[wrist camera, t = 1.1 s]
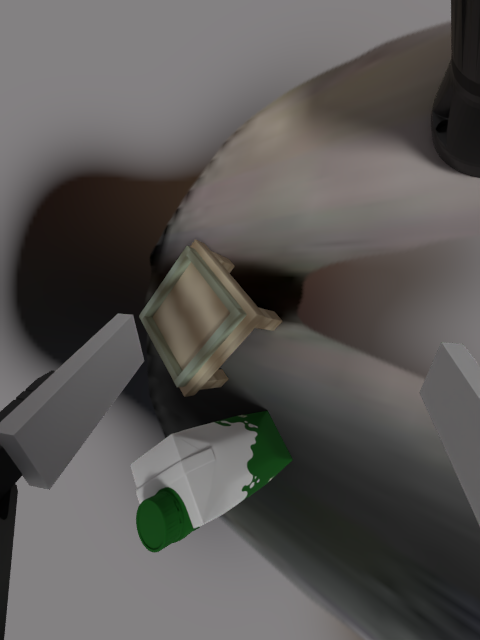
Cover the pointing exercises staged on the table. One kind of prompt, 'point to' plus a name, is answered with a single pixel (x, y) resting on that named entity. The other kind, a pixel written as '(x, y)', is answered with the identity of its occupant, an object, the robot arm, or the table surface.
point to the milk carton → (204, 475)
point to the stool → (201, 318)
